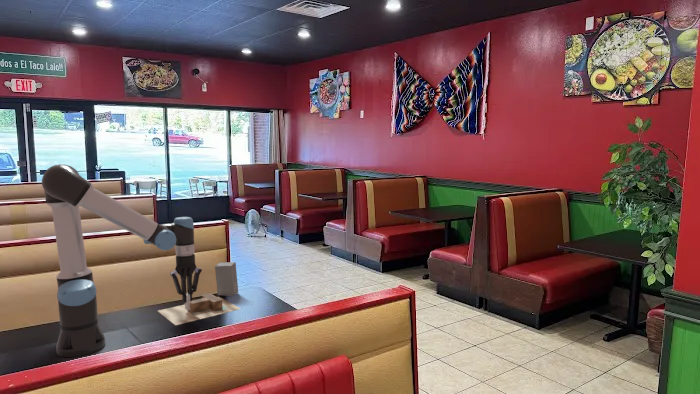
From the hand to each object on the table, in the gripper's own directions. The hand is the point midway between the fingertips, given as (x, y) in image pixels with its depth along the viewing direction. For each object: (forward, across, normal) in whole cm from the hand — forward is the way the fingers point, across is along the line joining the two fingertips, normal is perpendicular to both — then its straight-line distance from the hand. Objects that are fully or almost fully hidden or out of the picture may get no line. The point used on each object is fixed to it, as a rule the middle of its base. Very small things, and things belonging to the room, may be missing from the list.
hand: (187, 309), depth 199 cm
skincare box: (+3, +24, +13) cm, 27 cm away
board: (+3, +5, 0) cm, 6 cm away
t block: (+1, +7, 0) cm, 7 cm away
